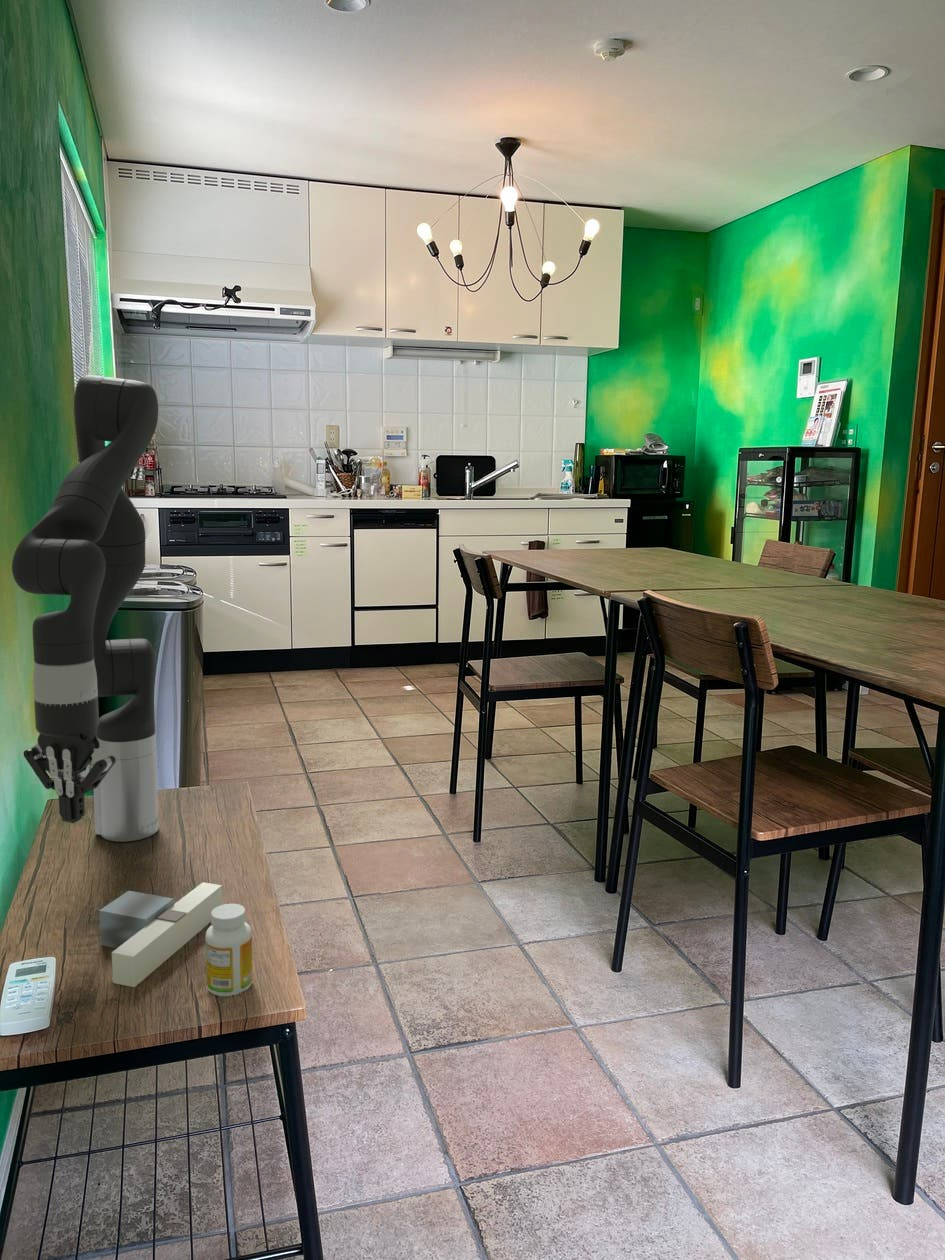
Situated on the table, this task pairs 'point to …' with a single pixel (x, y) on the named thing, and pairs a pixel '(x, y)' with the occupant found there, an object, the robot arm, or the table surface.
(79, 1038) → the table surface
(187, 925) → the cream rectangular bar
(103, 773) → the robot arm
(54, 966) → the table surface
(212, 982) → the supplement bottle
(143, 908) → the block
